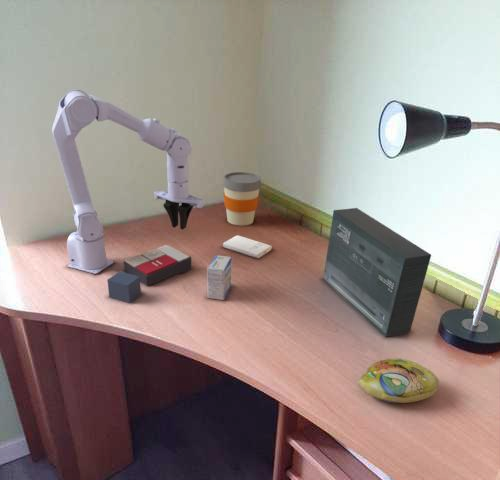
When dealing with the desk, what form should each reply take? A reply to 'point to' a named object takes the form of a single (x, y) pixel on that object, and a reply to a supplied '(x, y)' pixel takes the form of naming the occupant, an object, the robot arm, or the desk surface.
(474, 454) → the desk surface
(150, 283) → the calculator
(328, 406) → the desk surface
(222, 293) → the medicine box
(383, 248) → the cassette player
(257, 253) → the hard drive
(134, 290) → the block
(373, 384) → the cell model
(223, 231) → the desk surface
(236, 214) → the reusable coffee cup
